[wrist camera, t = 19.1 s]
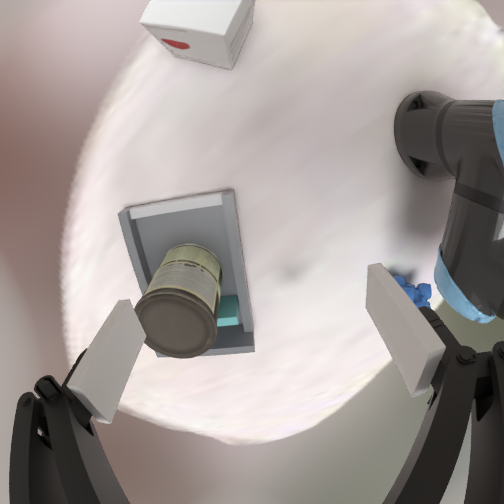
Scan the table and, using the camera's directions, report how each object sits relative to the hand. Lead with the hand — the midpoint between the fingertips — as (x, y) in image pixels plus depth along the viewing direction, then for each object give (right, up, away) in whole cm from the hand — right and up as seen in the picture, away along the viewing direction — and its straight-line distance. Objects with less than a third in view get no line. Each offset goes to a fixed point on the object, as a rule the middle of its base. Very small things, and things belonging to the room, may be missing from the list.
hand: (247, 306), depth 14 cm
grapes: (+29, -3, +32) cm, 43 cm away
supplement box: (-5, +33, +15) cm, 36 cm away
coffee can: (-9, 0, +29) cm, 31 cm away
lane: (-9, -1, +30) cm, 31 cm away
